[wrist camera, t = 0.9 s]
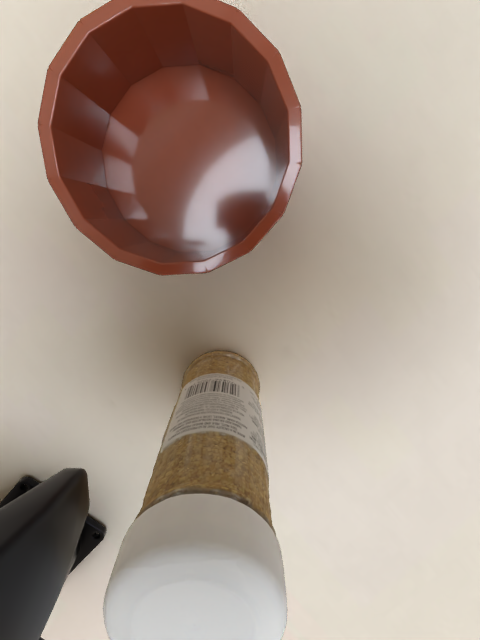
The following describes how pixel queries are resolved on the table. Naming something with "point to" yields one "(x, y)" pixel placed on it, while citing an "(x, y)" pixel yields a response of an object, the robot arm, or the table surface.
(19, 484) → the robot arm
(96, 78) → the cup
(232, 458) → the sprinkles bottle
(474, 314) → the table surface
